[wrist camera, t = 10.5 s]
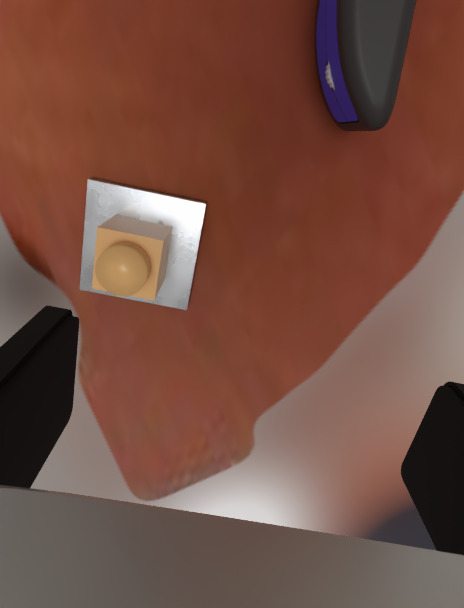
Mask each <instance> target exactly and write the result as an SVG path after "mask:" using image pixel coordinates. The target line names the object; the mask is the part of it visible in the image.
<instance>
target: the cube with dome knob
mask: <svg viewBox="0 0 464 608" xmlns="http://www.w3.org/2000/svg"><path fill="white" fill-rule="evenodd" d="M171 234H172V227H171V226H166V225H162V224H157V223H152V222H147V221H142V220H137V219H132V218H128V217H123V216H118V215H114V216H113V217H111V218H110V219H108V220H107V221H105V222H104V223H102V224H101V225H99V226H98V227H97V235H96V247H95V259H94V270H93V282H92V289H97V290H103V291H108V292H109V293H111V294H114V295H117V296H134V297H139V298H144V299H149V300H154V301H155V298H156V296H157V294H158V292H159V290H160V288H161V286H162V284H163V282H164V279H165V272H166V266H167V259H168V253H169V246H170V240H171Z"/></svg>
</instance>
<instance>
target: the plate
mask: <svg viewBox="0 0 464 608" xmlns="http://www.w3.org/2000/svg"><path fill="white" fill-rule="evenodd" d="M206 204H207V202H204V201H200V200H195V199H190V198H186V197H181V196H176V195H171V194H167V193H162V192H157V191H152V190H148V189H143V188H138V187H134V186H129V185H124V184H119V183H115V182H110V181H105V180H100V179H96V178H90V179H88V184H87V197H86V211H85V224H84V238H83V251H82V265H81V278H80V290H85V291H90V292H95V293H100V294H106V295H111V296H116V297H121V298H126V299H132V300H137V301H142V302H147V303H152V304H157V305H163V306H168V307H173V308H178V309H183V310H187V307H188V303H189V297H190V292H191V286H192V281H193V275H194V270H195V264H196V259H197V253H198V248H199V242H200V237H201V231H202V226H203V220H204V215H205V209H206ZM114 215H118V216H123V217H128V218H132V219H137V220H142V221H147V222H152V223H157V224H162V225H166V226H171V227H172V234H171V240H170V246H169V253H168V259H167V266H166V272H165V279H164V282H163V284H162V286H161V288H160V290H159V292H158V294H157V296H156V298H155V301H154V300H149V299H144V298H139V297H134V296H117V295H114V294H111V293H109V292H108V291H103V290H97V289H92V282H93V270H94V259H95V247H96V235H97V227H98V226H99V225H101V224H102V223H104V222H105V221H107V220H108V219H110V218H111V217H113V216H114Z"/></svg>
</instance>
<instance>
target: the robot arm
mask: <svg viewBox="0 0 464 608" xmlns="http://www.w3.org/2000/svg"><path fill="white" fill-rule="evenodd" d="M78 331H79V318H78V317H74V316H72V311H71V310H68V309H63V308H57V307H52V306H45V307H44V308H43V309H42V310H41V311H40V312H38V314H36V315H35V316H34V317H33V318H32V319H31V320H30V321H29V322H28V323H27V324H25V325H24V326H23V327H22V328H21V329H20V330H19V331H18V332H17V333H15V334H14V335H13V336H12V337H11V338H10V339H9V340H8V341H7V342H6V343H5V344H3V345H2V346H1V347H0V608H464V384H460V383H454V382H447V383H446V384H445V385H444V386H440V387H439V388H437V390H436V392H435V394H434V396H433V398H432V400H431V403H430V405H429V407H428V409H427V411H426V414H425V416H424V418H423V420H422V422H421V424H420V426H419V429H418V431H417V433H416V435H415V437H414V439H413V441H412V444H411V446H410V448H409V450H408V452H407V455H406V457H405V459H404V461H403V463H402V466H401V475H402V478H403V481H404V483H405V485H406V487H407V489H408V491H409V494H410V496H411V498H412V500H413V502H414V504H415V506H416V508H417V510H418V512H419V514H420V516H421V518H422V520H423V523H424V525H425V527H426V529H427V531H428V533H429V535H430V537H431V539H432V541H433V543H434V545H435V547H436V550H437V551H436V550H430V549H423V548H416V547H410V546H404V545H398V544H392V543H385V542H379V541H373V540H366V539H360V538H354V537H348V536H342V535H335V534H329V533H322V532H316V531H310V530H303V529H297V528H290V527H284V526H277V525H272V524H265V523H258V522H253V521H247V520H240V519H234V518H228V517H221V516H215V515H209V514H202V513H196V512H189V511H183V510H176V509H170V508H163V507H156V506H150V505H143V504H136V503H130V502H123V501H117V500H111V499H104V498H98V497H91V496H85V495H78V494H72V493H64V492H56V491H48V490H38V489H31V488H30V487H31V485H32V483H33V482H34V480H35V478H36V477H37V475H38V473H39V471H40V470H41V468H42V466H43V464H44V463H45V461H46V459H47V458H48V456H49V454H50V452H51V451H52V449H53V447H54V445H55V444H56V442H57V440H58V439H59V437H60V435H61V433H62V432H63V430H64V428H65V427H66V425H67V423H68V421H69V419H70V416H71V412H72V408H73V396H74V383H75V370H76V357H77V344H78Z"/></svg>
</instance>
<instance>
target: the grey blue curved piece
mask: <svg viewBox="0 0 464 608" xmlns="http://www.w3.org/2000/svg"><path fill="white" fill-rule="evenodd" d="M415 5H416V0H318V7H317V16H316V30H315V49H316V62H317V70H318V76H319V81H320V85H321V89H322V93H323V96H324V99H325V102H326V104H327V107H328V109H329V111H330V113H331V115H332V117H333V118H334V120H335V121H336V123H337V124H338V125H339V126H340V127H341V128H342V129H343V130H346V131H375V130H379V129H381V128H383V127H384V126H385V125H386V124H387V122H388V120H389V118H390V116H391V113H392V111H393V107H394V104H395V100H396V95H397V90H398V86H399V81H400V76H401V71H402V67H403V62H404V57H405V52H406V48H407V43H408V38H409V33H410V28H411V24H412V19H413V14H414V9H415ZM325 17H326V18H325Z"/></svg>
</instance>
